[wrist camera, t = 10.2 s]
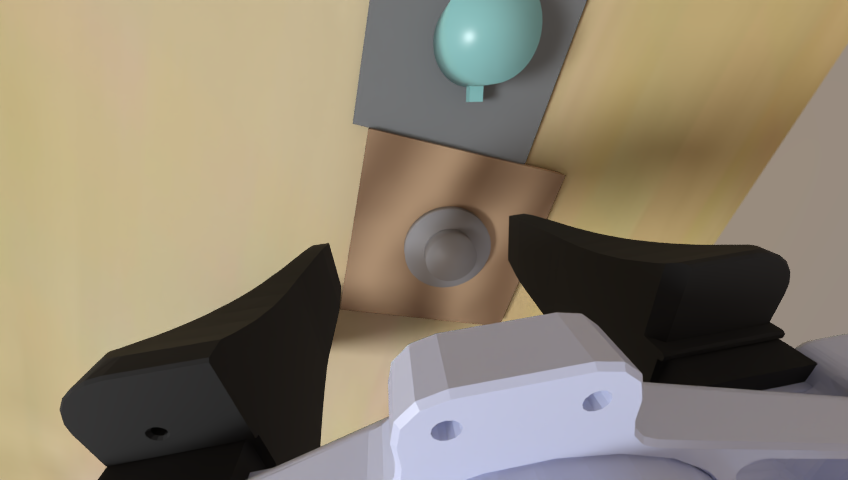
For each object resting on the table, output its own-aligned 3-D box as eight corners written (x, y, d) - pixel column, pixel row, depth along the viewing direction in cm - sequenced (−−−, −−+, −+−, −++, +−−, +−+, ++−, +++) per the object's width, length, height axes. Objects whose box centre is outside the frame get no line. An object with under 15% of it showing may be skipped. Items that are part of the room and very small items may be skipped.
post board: (558, 172, 23) (582, 183, 20) (495, 318, 28) (507, 342, 26) (369, 126, 20) (367, 132, 17) (341, 301, 25) (336, 326, 23)
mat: (601, -48, 17) (605, -51, 17) (522, 163, 22) (524, 164, 22) (389, -140, 14) (389, -146, 14) (353, 122, 19) (352, 123, 19)
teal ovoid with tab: (505, 101, 19) (533, 100, 16) (433, 102, 19) (445, 102, 15) (515, -23, 17) (552, -58, 13) (432, -25, 16) (446, -62, 13)
